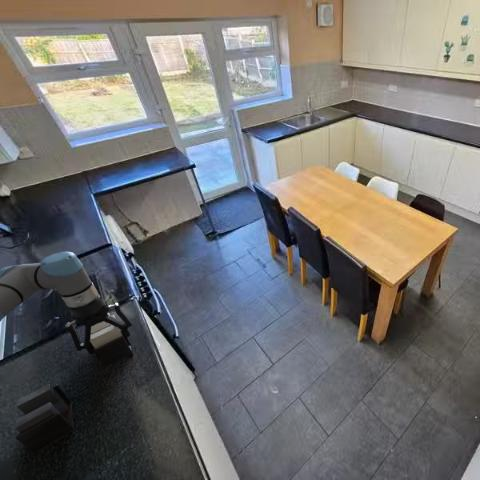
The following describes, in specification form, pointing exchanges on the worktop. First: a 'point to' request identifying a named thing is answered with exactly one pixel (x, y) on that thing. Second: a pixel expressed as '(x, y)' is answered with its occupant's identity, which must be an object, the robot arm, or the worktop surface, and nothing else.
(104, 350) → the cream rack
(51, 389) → the grey rack
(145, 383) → the worktop surface
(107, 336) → the cream book
